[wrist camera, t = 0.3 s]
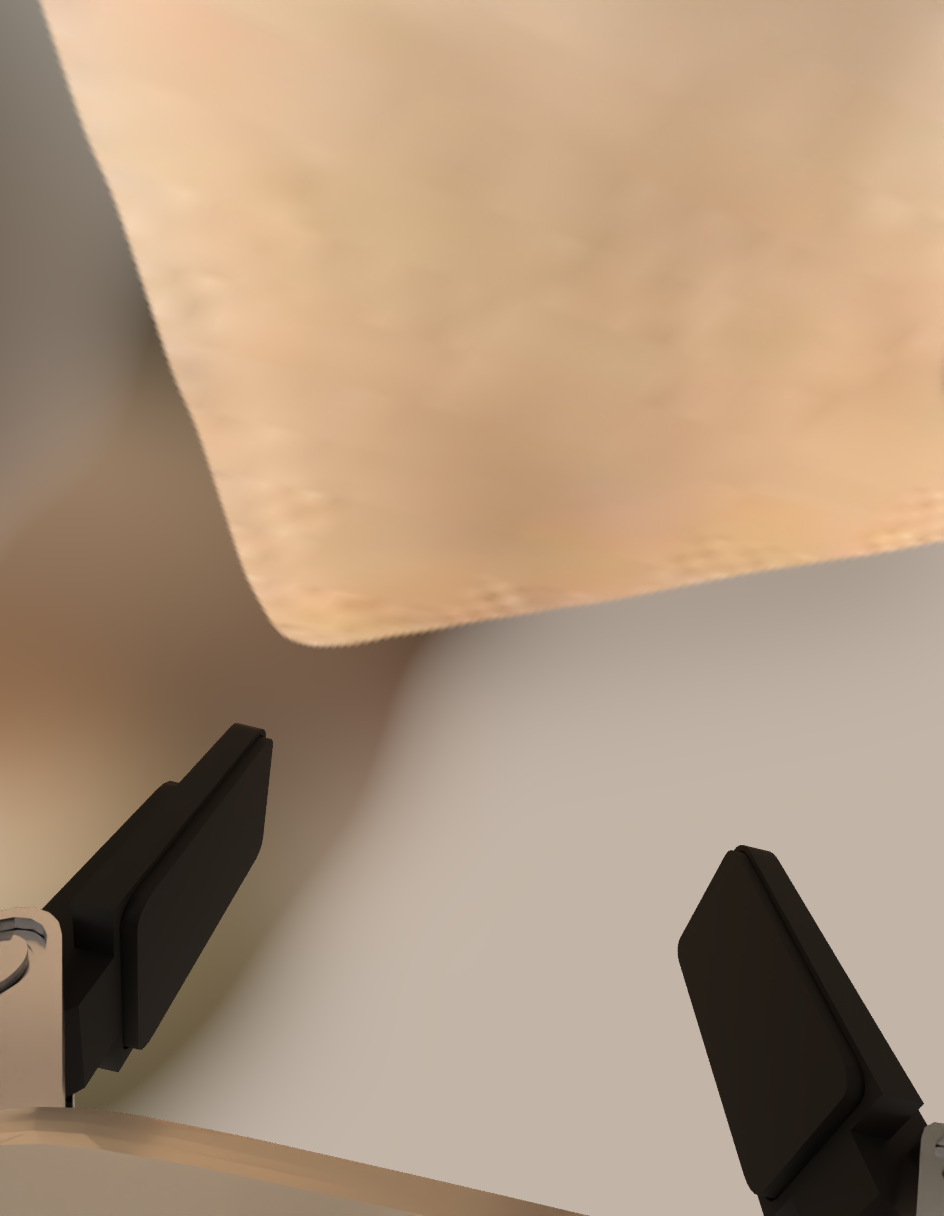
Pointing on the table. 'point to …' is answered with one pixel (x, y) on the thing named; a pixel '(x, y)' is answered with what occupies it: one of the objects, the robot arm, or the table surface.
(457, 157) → the table surface
